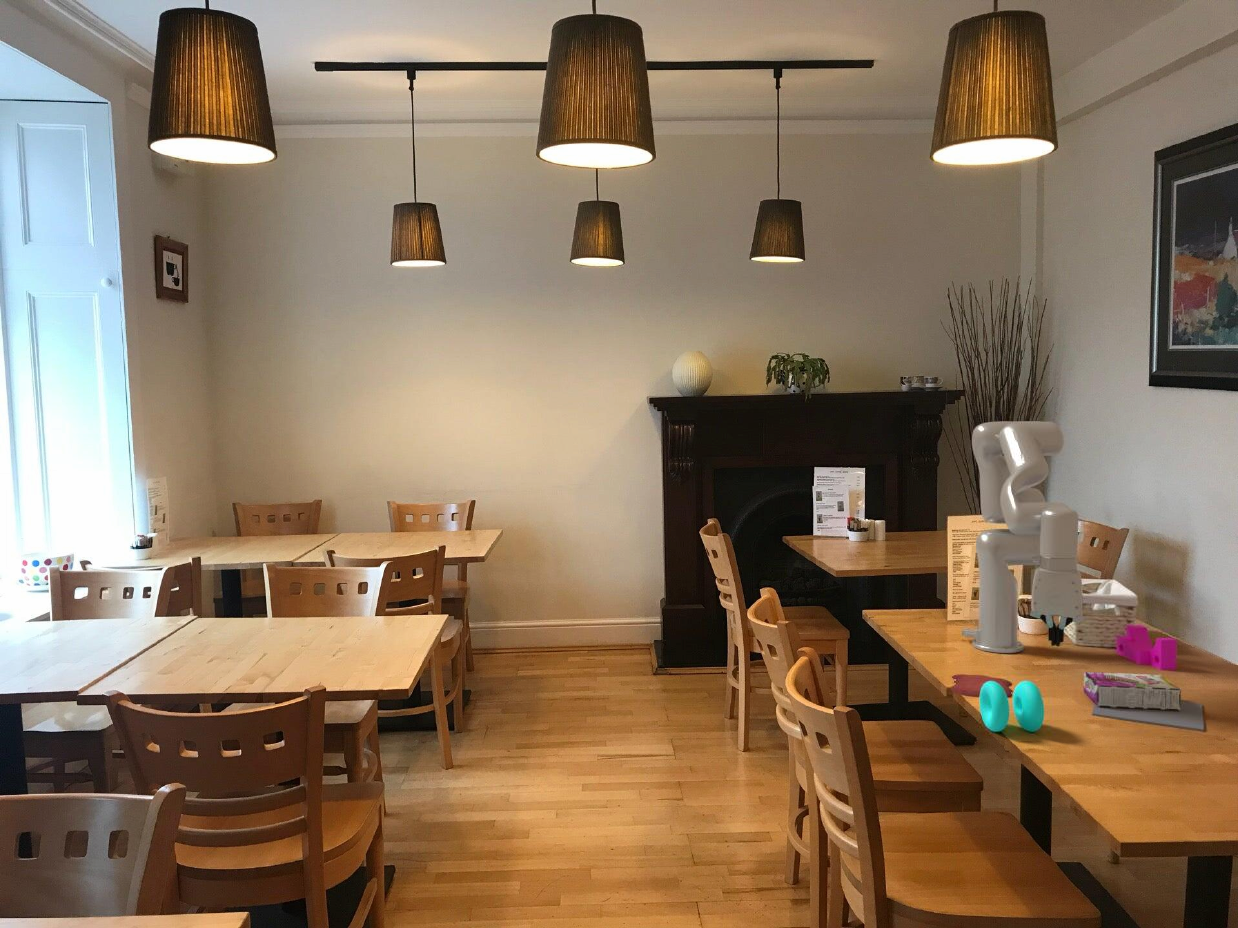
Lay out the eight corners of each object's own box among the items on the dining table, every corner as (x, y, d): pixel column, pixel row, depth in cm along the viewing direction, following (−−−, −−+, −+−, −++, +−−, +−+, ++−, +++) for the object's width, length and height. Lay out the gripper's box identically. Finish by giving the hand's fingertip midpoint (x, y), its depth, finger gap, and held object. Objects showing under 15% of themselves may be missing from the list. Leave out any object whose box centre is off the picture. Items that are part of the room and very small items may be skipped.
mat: (1091, 715, 196) (1091, 713, 196) (1098, 691, 212) (1098, 689, 212) (1203, 731, 186) (1204, 729, 186) (1201, 705, 202) (1201, 703, 202)
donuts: (977, 721, 194) (977, 674, 193) (1025, 721, 194) (1026, 674, 193) (994, 739, 184) (995, 689, 183) (1046, 739, 184) (1047, 689, 183)
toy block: (1116, 653, 243) (1117, 625, 242) (1140, 653, 243) (1141, 625, 242) (1150, 670, 228) (1151, 640, 227) (1175, 670, 228) (1176, 639, 227)
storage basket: (1054, 626, 272) (1055, 576, 271) (1115, 629, 268) (1117, 578, 267) (1071, 647, 249) (1072, 593, 248) (1139, 651, 245) (1140, 595, 244)
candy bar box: (1083, 669, 210) (1162, 673, 207) (1082, 691, 211) (1162, 695, 207) (1097, 684, 200) (1182, 688, 196) (1097, 707, 200) (1181, 712, 197)
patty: (950, 677, 226) (950, 669, 226) (1012, 683, 221) (1012, 674, 221) (947, 699, 210) (947, 690, 210) (1014, 705, 205) (1014, 696, 204)
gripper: (1019, 563, 207) (1017, 644, 209) (1094, 570, 199) (1092, 653, 201) (1024, 557, 213) (1022, 635, 215) (1097, 563, 206) (1094, 644, 208)
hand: (1055, 644), depth 208 cm, fingers closed
